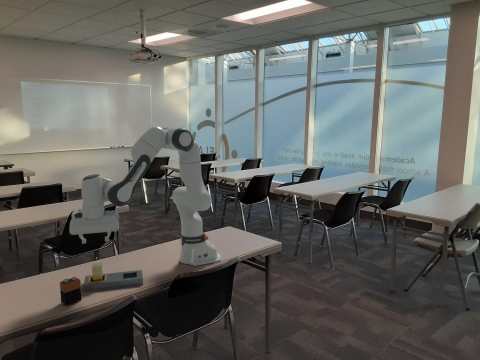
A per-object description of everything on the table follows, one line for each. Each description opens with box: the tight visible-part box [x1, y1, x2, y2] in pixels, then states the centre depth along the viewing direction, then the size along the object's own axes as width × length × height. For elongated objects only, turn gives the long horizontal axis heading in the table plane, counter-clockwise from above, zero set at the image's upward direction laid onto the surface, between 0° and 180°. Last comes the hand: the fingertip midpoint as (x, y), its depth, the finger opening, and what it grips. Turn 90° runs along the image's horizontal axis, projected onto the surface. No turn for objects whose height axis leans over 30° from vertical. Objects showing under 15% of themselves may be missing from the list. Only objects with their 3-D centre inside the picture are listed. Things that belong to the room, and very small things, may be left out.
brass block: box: [91, 262, 104, 282], centre depth 167 cm, size 4×4×9 cm
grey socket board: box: [83, 269, 144, 293], centre depth 170 cm, size 25×10×3 cm, turn 108°
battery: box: [59, 276, 83, 306], centre depth 152 cm, size 4×7×10 cm, turn 141°
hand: (95, 242), depth 165 cm, fingers open, 8 cm apart
